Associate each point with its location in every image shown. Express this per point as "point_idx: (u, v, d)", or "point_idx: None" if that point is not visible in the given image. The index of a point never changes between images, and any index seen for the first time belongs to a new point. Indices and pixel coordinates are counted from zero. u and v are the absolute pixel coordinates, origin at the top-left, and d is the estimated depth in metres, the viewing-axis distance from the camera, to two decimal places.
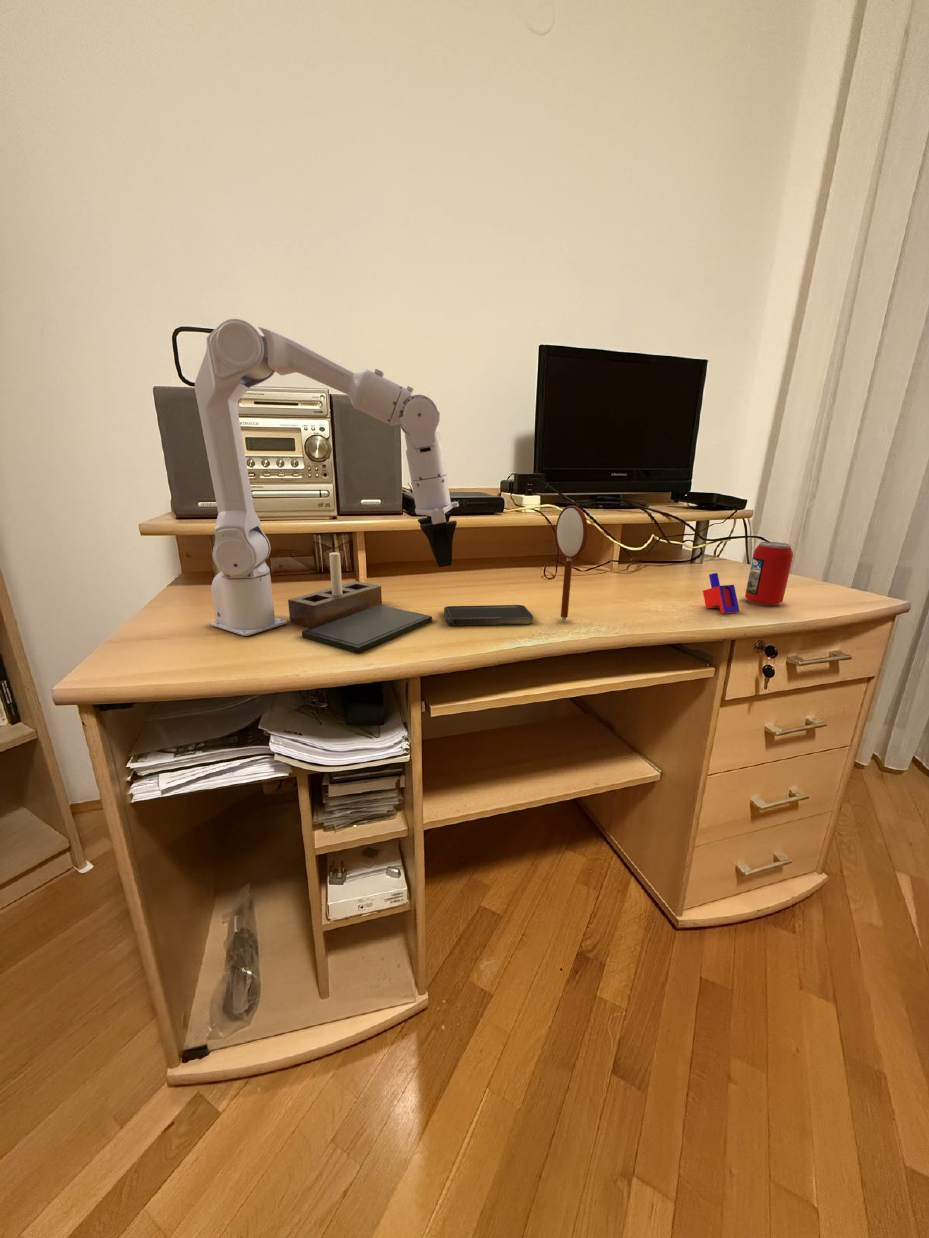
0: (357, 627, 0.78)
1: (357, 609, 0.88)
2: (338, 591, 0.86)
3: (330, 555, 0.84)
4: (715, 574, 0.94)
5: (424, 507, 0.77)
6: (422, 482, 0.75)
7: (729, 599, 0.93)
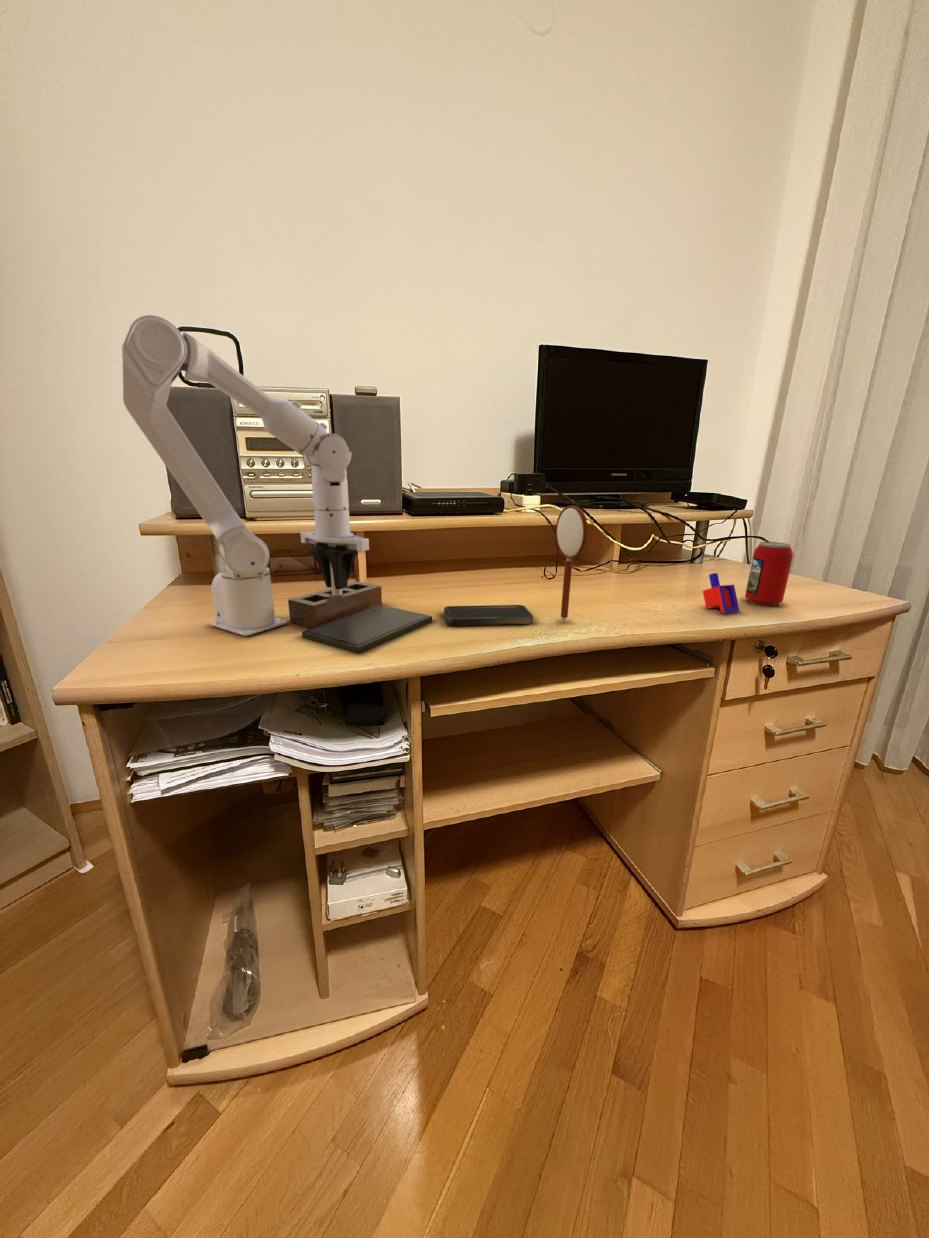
0: (357, 627, 0.78)
1: (357, 609, 0.88)
2: (338, 591, 0.86)
3: None
4: (715, 574, 0.94)
5: (336, 536, 0.81)
6: (337, 513, 0.80)
7: (729, 599, 0.93)
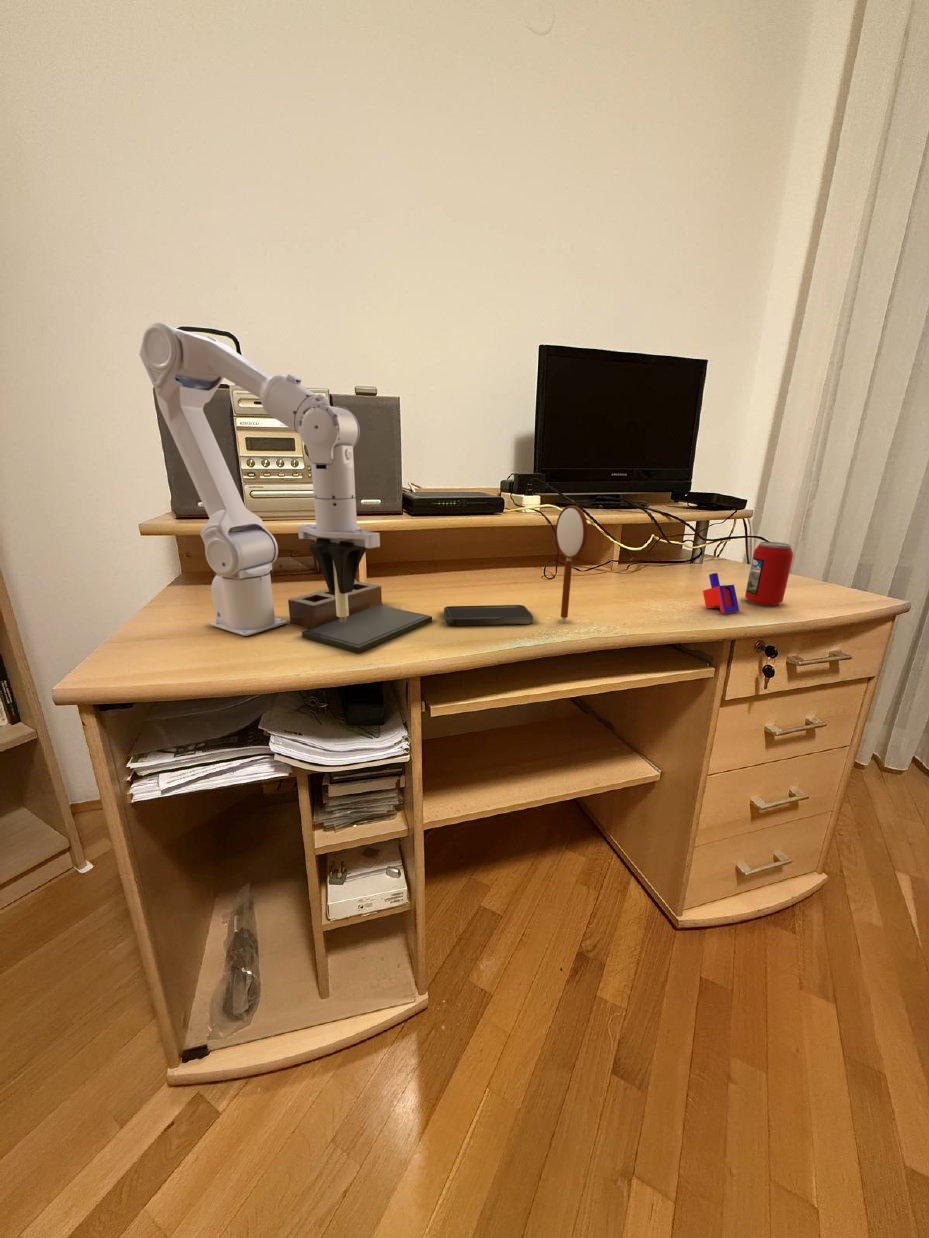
0: (357, 627, 0.78)
1: (357, 609, 0.88)
2: (343, 596, 0.73)
3: None
4: (715, 574, 0.94)
5: (340, 530, 0.68)
6: (342, 502, 0.67)
7: (729, 599, 0.93)
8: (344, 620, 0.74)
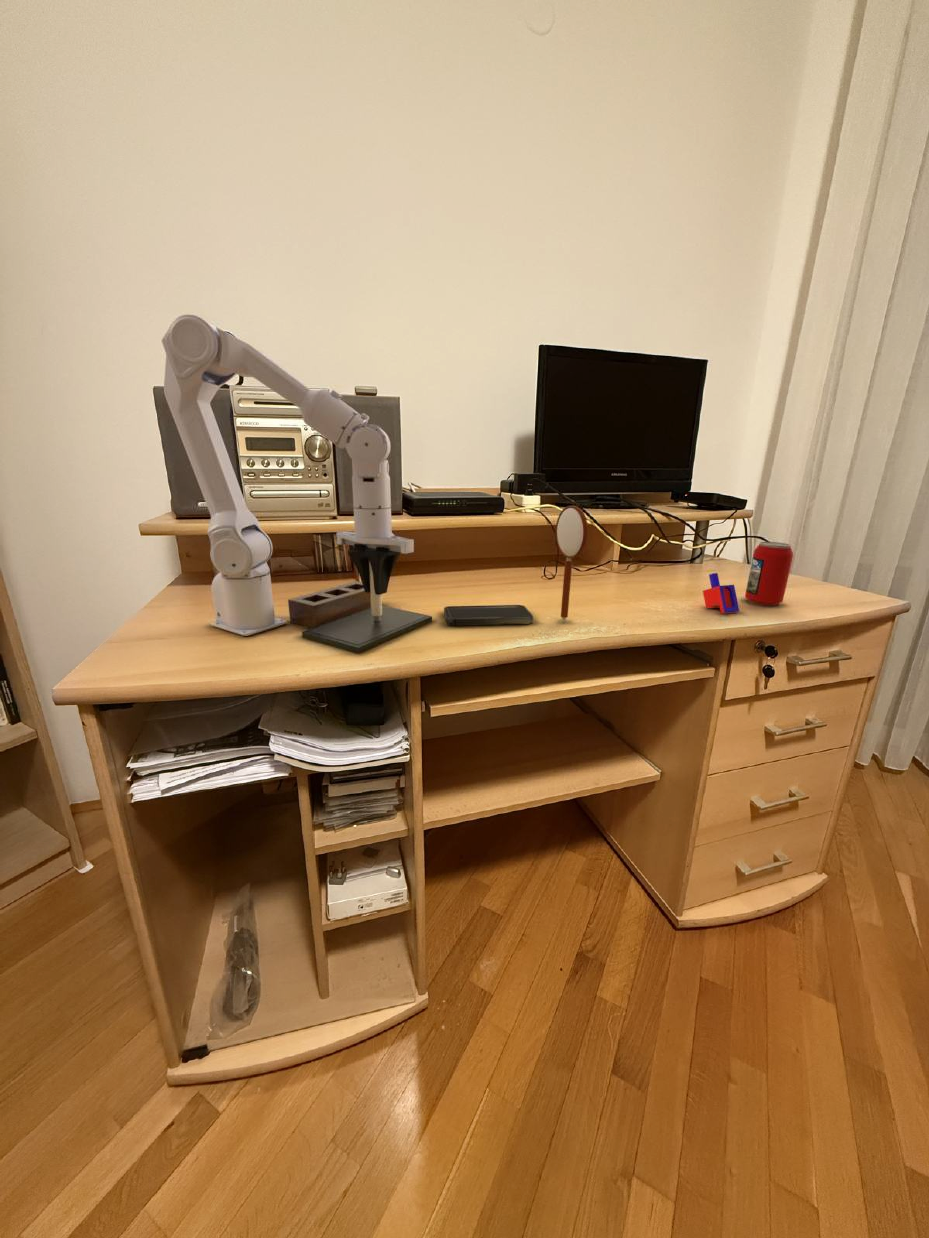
0: (357, 627, 0.78)
1: (357, 609, 0.88)
2: (378, 596, 0.79)
3: None
4: (715, 574, 0.94)
5: (377, 536, 0.75)
6: (380, 511, 0.74)
7: (729, 599, 0.93)
8: (378, 619, 0.81)
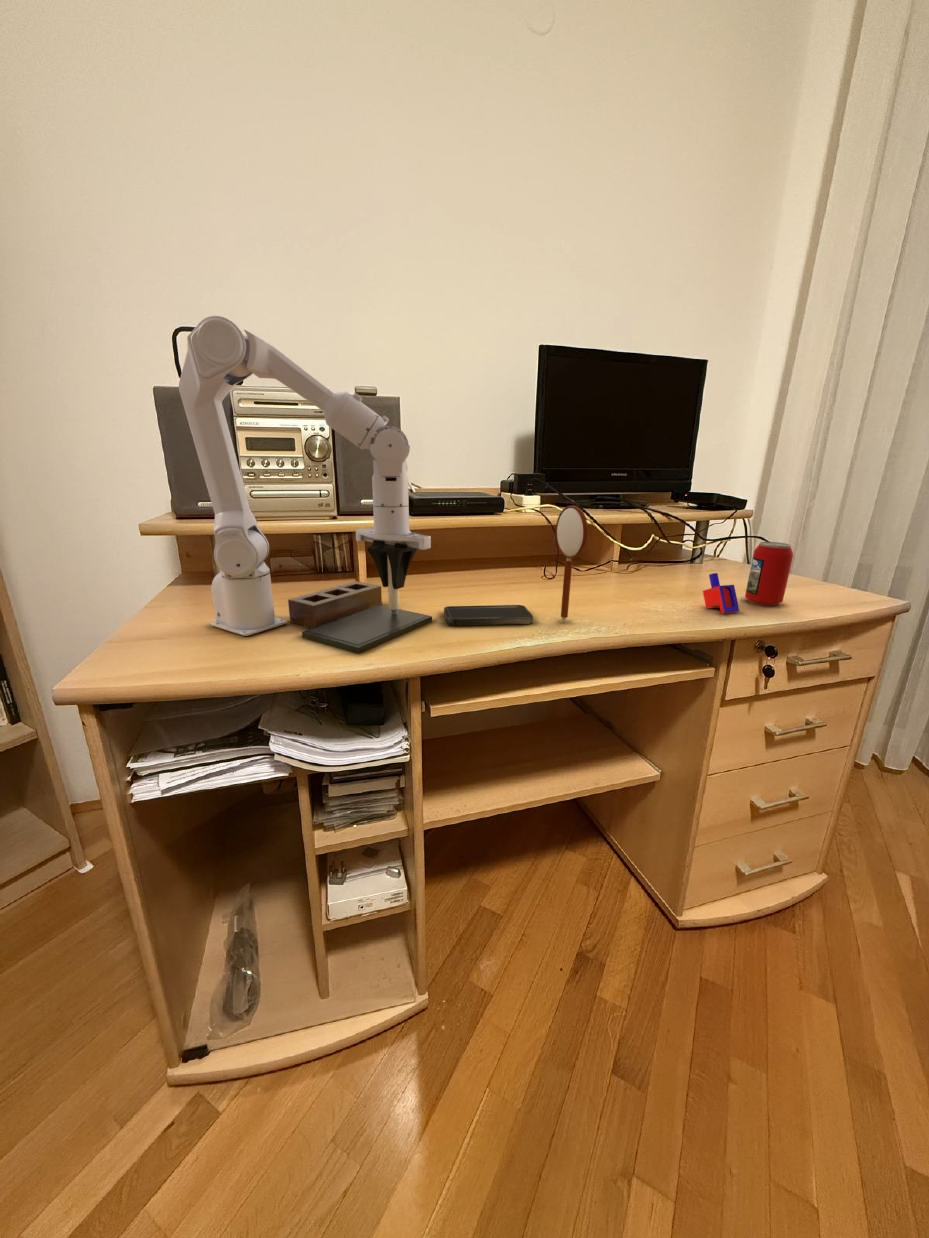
0: (357, 627, 0.78)
1: (357, 609, 0.88)
2: (395, 591, 0.83)
3: None
4: (715, 574, 0.94)
5: (396, 533, 0.78)
6: (398, 509, 0.77)
7: (729, 599, 0.93)
8: (395, 612, 0.85)
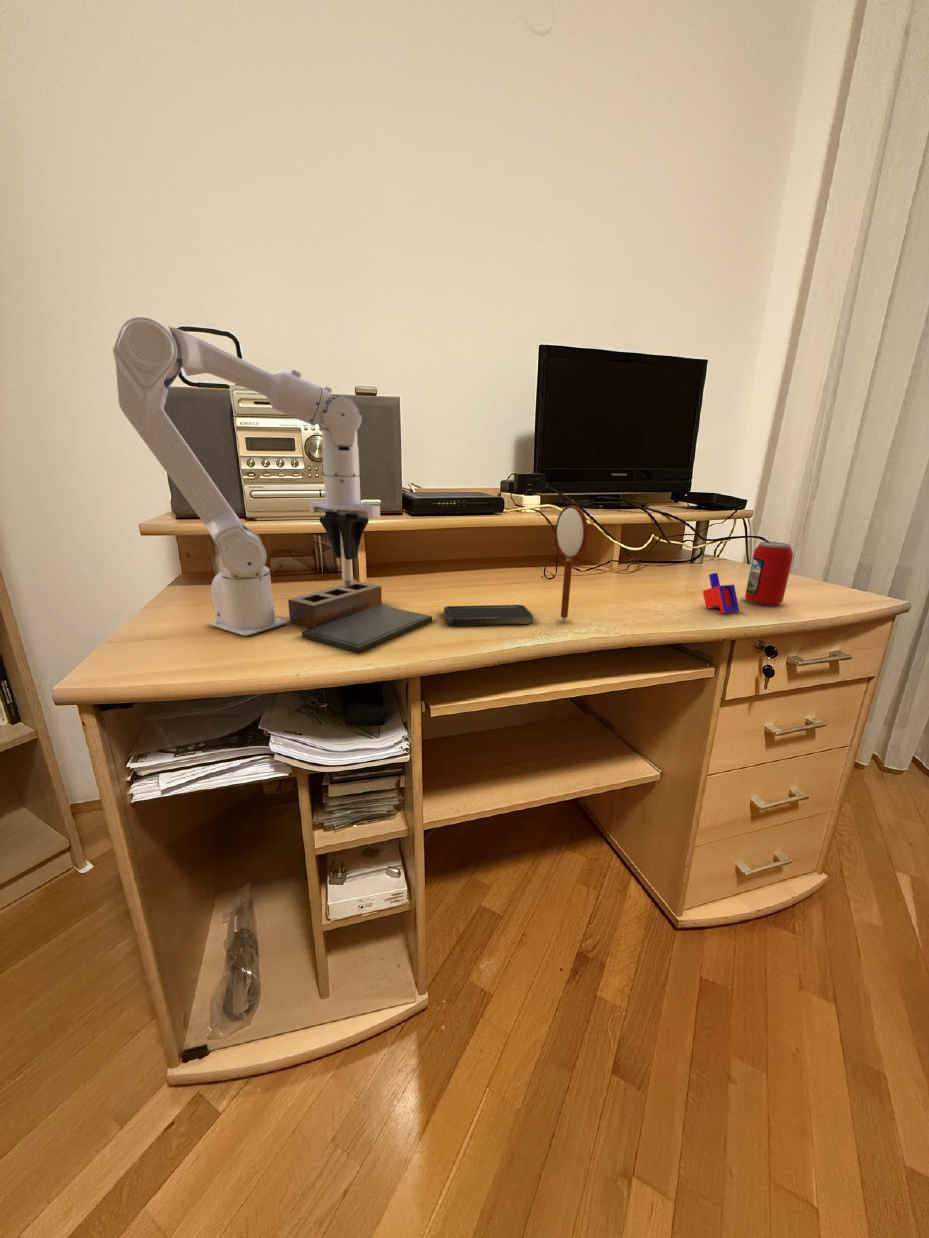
0: (357, 627, 0.78)
1: (357, 609, 0.88)
2: (348, 561, 0.84)
3: None
4: (715, 574, 0.94)
5: (346, 503, 0.79)
6: (348, 479, 0.78)
7: (729, 599, 0.93)
8: (349, 583, 0.85)
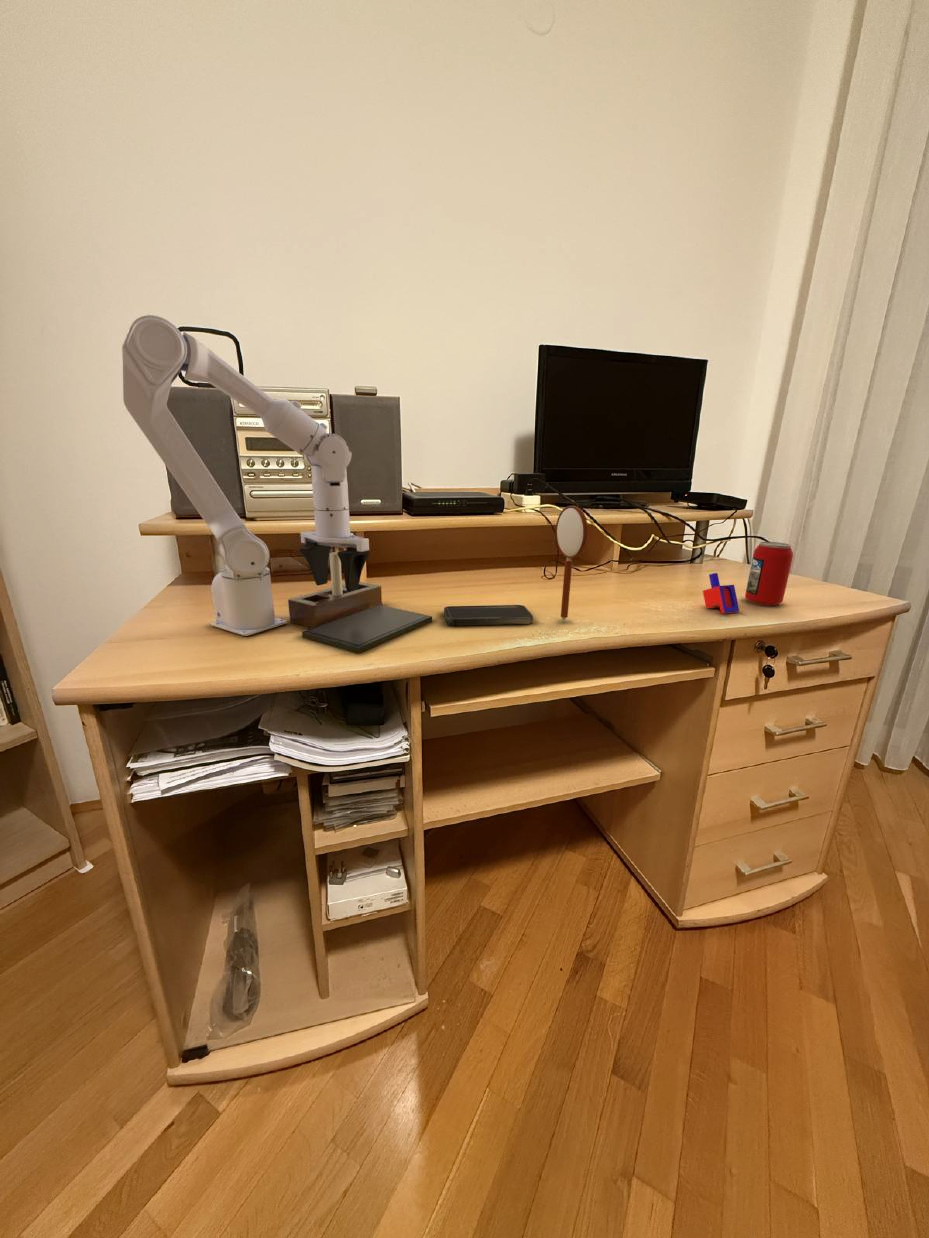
0: (357, 627, 0.78)
1: (357, 609, 0.88)
2: (338, 591, 0.86)
3: (330, 555, 0.84)
4: (715, 574, 0.94)
5: (336, 536, 0.81)
6: (337, 513, 0.80)
7: (729, 599, 0.93)
8: None
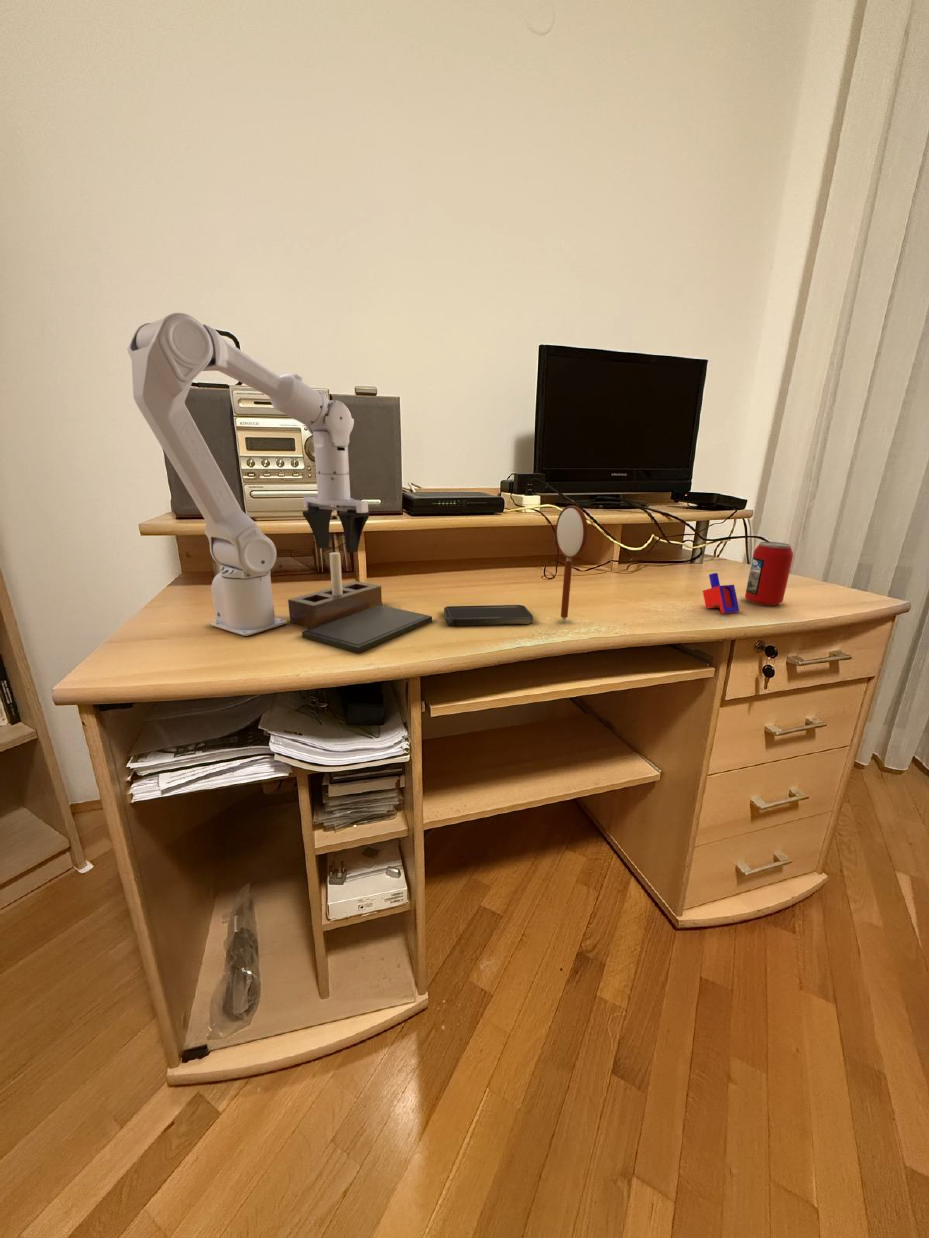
0: (357, 627, 0.78)
1: (357, 609, 0.88)
2: (338, 591, 0.86)
3: (330, 555, 0.84)
4: (715, 574, 0.94)
5: (337, 499, 0.86)
6: (338, 476, 0.85)
7: (729, 599, 0.93)
8: None
